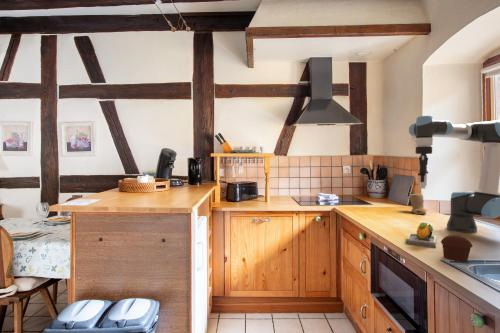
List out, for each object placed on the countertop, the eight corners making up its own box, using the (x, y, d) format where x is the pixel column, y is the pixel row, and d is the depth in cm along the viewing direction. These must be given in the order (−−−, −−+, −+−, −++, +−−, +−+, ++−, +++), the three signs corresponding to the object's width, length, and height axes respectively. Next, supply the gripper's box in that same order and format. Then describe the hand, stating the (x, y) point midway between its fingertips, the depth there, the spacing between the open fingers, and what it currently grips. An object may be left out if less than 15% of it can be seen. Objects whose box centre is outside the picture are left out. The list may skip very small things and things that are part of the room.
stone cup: (409, 210, 246) (410, 191, 245) (426, 212, 240) (427, 192, 239) (408, 213, 233) (408, 194, 232) (426, 215, 227) (426, 195, 226)
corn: (433, 220, 165) (430, 228, 148) (434, 235, 165) (431, 244, 148) (417, 220, 169) (413, 227, 153) (418, 233, 169) (414, 242, 153)
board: (436, 240, 164) (436, 236, 163) (435, 247, 151) (435, 243, 151) (409, 236, 171) (409, 232, 170) (406, 243, 158) (406, 239, 158)
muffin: (439, 259, 135) (440, 236, 134) (440, 252, 144) (441, 231, 144) (472, 265, 128) (473, 241, 128) (471, 257, 137) (472, 235, 137)
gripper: (417, 146, 172) (416, 184, 173) (413, 146, 151) (412, 189, 152) (432, 146, 168) (432, 185, 169) (431, 145, 147) (430, 190, 148)
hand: (423, 187), depth 161 cm, fingers open, 13 cm apart
